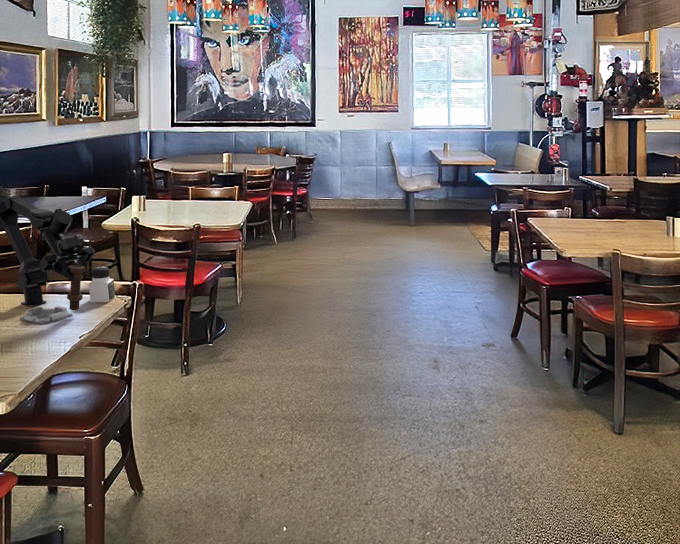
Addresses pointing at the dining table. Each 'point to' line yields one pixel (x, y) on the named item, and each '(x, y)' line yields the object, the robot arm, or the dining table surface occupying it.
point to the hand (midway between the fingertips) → (79, 278)
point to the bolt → (75, 286)
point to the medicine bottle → (101, 285)
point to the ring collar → (46, 315)
